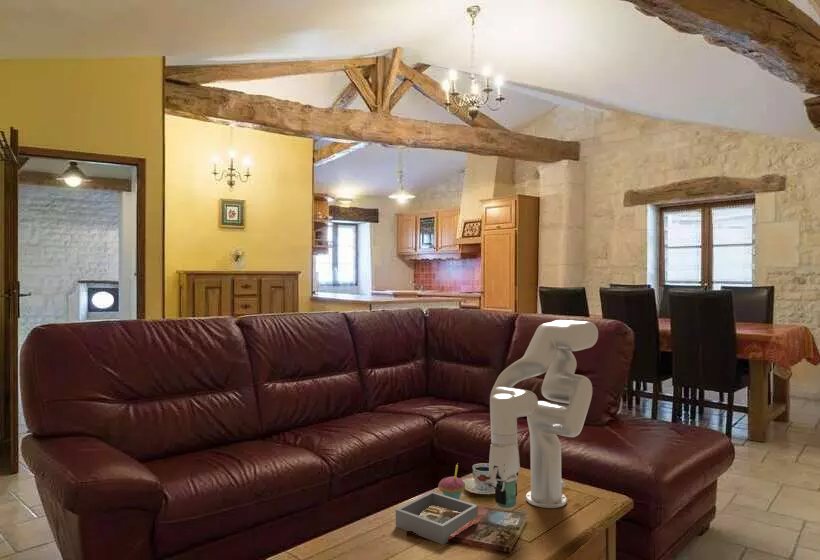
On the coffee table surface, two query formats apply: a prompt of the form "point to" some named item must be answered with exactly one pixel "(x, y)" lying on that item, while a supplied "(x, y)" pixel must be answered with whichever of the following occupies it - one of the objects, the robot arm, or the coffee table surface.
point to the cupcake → (452, 486)
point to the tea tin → (509, 492)
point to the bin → (430, 529)
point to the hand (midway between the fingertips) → (506, 498)
